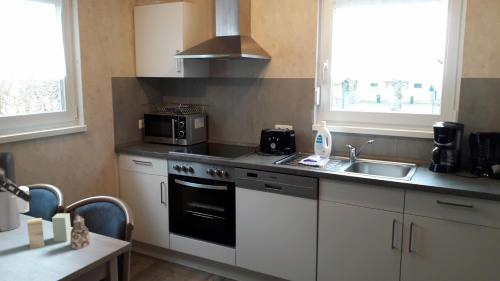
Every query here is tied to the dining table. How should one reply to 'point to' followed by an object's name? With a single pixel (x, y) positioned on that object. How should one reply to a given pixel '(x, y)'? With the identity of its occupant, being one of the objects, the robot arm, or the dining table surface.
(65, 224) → the sage block
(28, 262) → the dining table surface
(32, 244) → the beech block
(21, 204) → the milkshake
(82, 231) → the figurine
